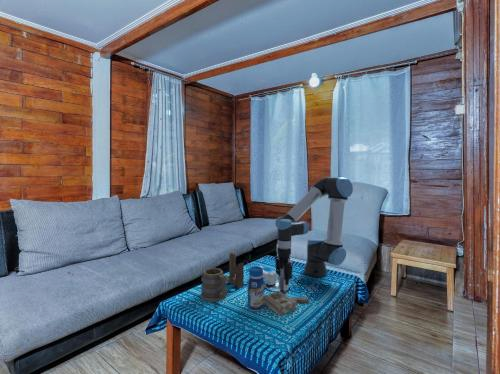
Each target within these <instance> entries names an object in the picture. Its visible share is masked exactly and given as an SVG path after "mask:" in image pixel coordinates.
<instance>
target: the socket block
mask: <svg viewBox="0 0 500 374" xmlns="http://www.w3.org/2000/svg"><path fill="white" fill-rule="evenodd" d="M291 298H292V297H290V296H288V295H286V294H283V293H281V292H280V290H279V291H275V292H271V293H268V294H264V306H266V307H267V308H269V309H270V310H272V311H274V313H276V314H278V315H279V316H280V315H283V314H286V313H290V312H292V311H294V310H297V308H298V306H297V304H298V303H297V302H296V301H294V300H293V299H291Z"/></svg>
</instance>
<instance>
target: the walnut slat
mask: <svg viewBox="0 0 500 374" xmlns="http://www.w3.org/2000/svg"><path fill="white" fill-rule="evenodd" d="M290 298H291V299H293V300H294V301H296V302H297V304H309V301H310V299H308V297H302V296H301V297H300V296H299V297H290Z"/></svg>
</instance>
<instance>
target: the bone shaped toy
mask: <svg viewBox="0 0 500 374" xmlns="http://www.w3.org/2000/svg"><path fill="white" fill-rule="evenodd" d="M257 267H261V268H262V269H263V275H262V278H263V280H264V281H265V282H267V285H268V286H269V285H272V286H273V285H276V284H277V281H278V274H277V273H276V270H272V271H270V272H268V271H266V270H264V268H263V267H264V266H262V265H258V266H257ZM275 283H276V284H275Z"/></svg>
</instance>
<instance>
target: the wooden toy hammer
mask: <svg viewBox="0 0 500 374" xmlns="http://www.w3.org/2000/svg"><path fill="white" fill-rule="evenodd" d="M228 257H229V261H228V262H229V263H228V264H229V266H228V268H229V273H228V274H229V275H227V276H228V278H229V279H230V280H229V281H228V283H229V284H231V285H234V286H235V287H236V288H242V287H244V278H245V277H244V273H245V272H244V270H245V269H244V267H245V263H244V262H242V263H238V265H236V252H229V256H228Z"/></svg>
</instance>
